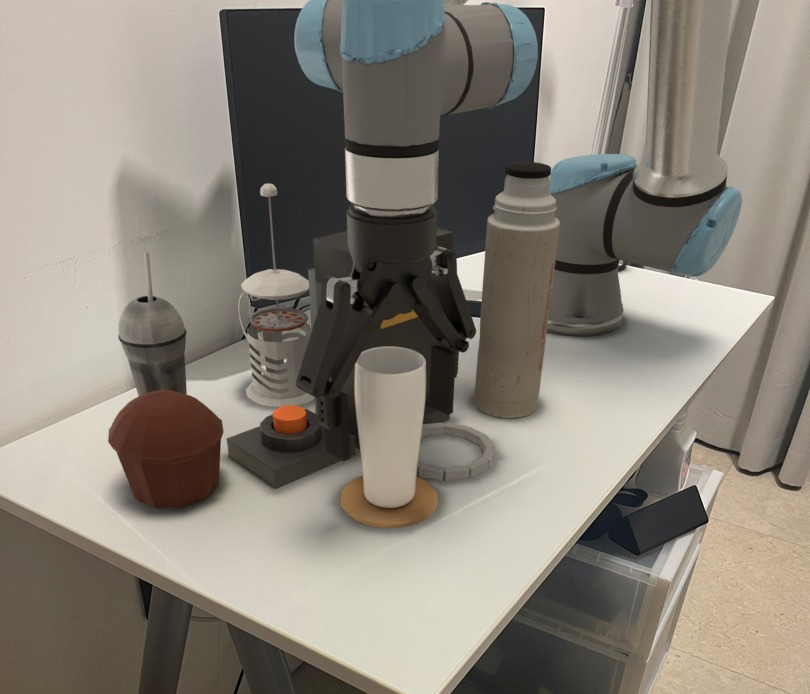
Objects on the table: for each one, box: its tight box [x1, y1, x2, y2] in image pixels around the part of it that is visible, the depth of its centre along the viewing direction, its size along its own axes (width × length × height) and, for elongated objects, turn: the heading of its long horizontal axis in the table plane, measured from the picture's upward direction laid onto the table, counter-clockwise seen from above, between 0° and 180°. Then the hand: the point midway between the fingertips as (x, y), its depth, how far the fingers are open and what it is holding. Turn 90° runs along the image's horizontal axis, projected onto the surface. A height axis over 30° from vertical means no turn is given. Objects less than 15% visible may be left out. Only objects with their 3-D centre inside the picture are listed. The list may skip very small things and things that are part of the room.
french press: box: [237, 183, 315, 408], centre depth 99 cm, size 10×12×25 cm
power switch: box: [226, 408, 357, 489], centre depth 92 cm, size 11×9×4 cm
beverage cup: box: [117, 252, 188, 397], centre depth 92 cm, size 7×7×20 cm
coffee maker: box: [307, 226, 496, 481], centre depth 90 cm, size 13×22×22 cm, turn 43°
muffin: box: [107, 390, 224, 509], centre depth 84 cm, size 12×11×10 cm
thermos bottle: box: [473, 161, 560, 419], centre depth 96 cm, size 8×8×28 cm
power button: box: [272, 405, 307, 434], centre depth 90 cm, size 4×4×2 cm
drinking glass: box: [354, 346, 426, 508], centre depth 81 cm, size 7×7×15 cm
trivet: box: [340, 475, 439, 529], centre depth 85 cm, size 10×10×1 cm
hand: (391, 431), depth 81 cm, fingers open, 13 cm apart
